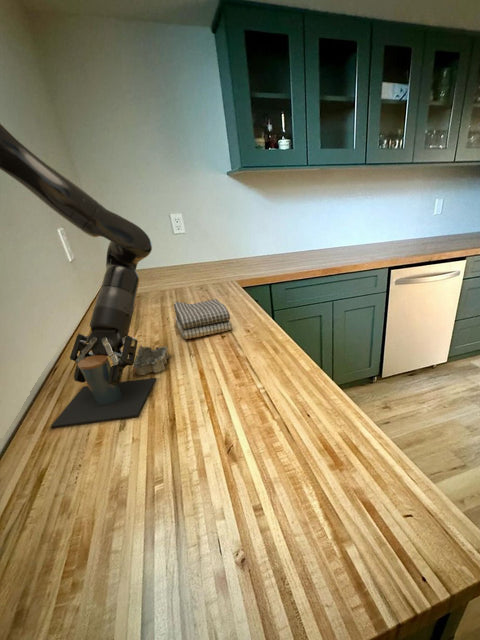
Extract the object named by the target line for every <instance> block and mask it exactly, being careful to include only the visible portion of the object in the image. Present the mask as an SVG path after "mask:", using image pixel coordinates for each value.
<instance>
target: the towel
mask: <svg viewBox="0 0 480 640" xmlns="http://www.w3.org/2000/svg"><path fill="white" fill-rule="evenodd" d="M173 308H174V313H175V317H174V320H175V322H174V323H175V325H176V327H177V328H178V330H179V333H180V334H181V336H182V337H183V339H184V340H188V339H190V340H191V339H195V338H199V337H205V336H208V335H213V334H219V333H223V332H227V331H230V330H232V323H231V321H230V320H231V315H230V313H229V310H228V308H227V307H226V305H224V303H221V302H220V301H219V300H218V299H217V298H215V299H210V300H209V299H208V300H204V301H199V302H194V303H186V302H181V301H174V303H173Z"/></svg>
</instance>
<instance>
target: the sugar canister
mask: <svg viewBox="0 0 480 640" xmlns="http://www.w3.org/2000/svg"><path fill="white" fill-rule="evenodd" d="M111 366H112V365H111V363H110V361H109V357H108V356H106V355H103V354H99V355H93V356H90V357H86V358H85V359H83V360H81V361H80V362H79V363H78V367H79V368H80V370H81V372H82V374H83V376H84V379H85V383H86V386H88V387H89V389H90V391H91V393H92V396H93V398H94V400H95V402H96V403H97V404H98V405H107V404H110V403H113V402H115V401H117V400H118V399H120V398H121V396H122V392H121V390H120V387H119V385H112V384H109V383H108V379H109V374H110V370H111Z"/></svg>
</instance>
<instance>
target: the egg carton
mask: <svg viewBox="0 0 480 640" xmlns="http://www.w3.org/2000/svg"><path fill="white" fill-rule="evenodd" d="M169 357H170V356H169V353H168V345H166V346H163V345H162V346H161V347H159V346H155V349H152V348H151V347H150V346H143V345H140V346H139V347H138V349H137V354H136V355H135V360H134V364H133V367H132V369H135V370H136V374H137V375H140V376H146V375H147V374H149V373H154V374H158V373H160V372H163V371H165V370H166V367H165V365H167V364H168V361H167V360H168V359H169Z"/></svg>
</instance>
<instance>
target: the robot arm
mask: <svg viewBox="0 0 480 640" xmlns="http://www.w3.org/2000/svg"><path fill="white" fill-rule="evenodd" d="M0 170H1V171H2V172H4V173H5V174H7V175H8V176H9V177H11V178H12V179H14V180H15V181H17V182H18V183H19V184H20V185H22V186H23V187H24V188H26V189H27V190H28V191H30V193H32V194H33V195H34V196H35V197H37V198H38V199H39V200H40V201H42V203H44V204H45V205H46V206H48V207H49V209H52V211H54V212H55V213H56V214H57V215H59V216H61V217H62V218H63V219H65V220H66V221H67V222H69V223H70V224H72V225H73V226H75V227H76V228H77V229H79V230H80V231H82V232H83V233H84V234H85V235H88V236H90V237H92V238H99V237H102V238H104V239H106V240H108V241H109V243H108V246H107V250H106V260H105V272H104V276H103V279H102V284H101V286H100V290H99V292H98V294H97V297H96V300H95V304H94V307H93V311H92V315H91V317H90V318H91V319H90V322H89V327H90V330H91V332H90V334H89V335H83V334H81V333H78V334H77V335H76V338H75V339H74V340H75V341H74V344H73V347H72V350H71V352H70V356H69V359H70V360H71V361H73V362H75V363H76V367H75V371H74V374H73V380H74V382H78V383H83V384H84V383H86V381H85V379H84V376H83V374H82V372H81V370H80V368H79V367H78V363H79V362H80V361H81V360H83V359H85V358H87V357H90V356H93V355H99V354H103V355H106V356H107V357H108V358H110V360H111V362H112V364H113V365H110V366H111V370H110V374H109V379H108V383H109V384H112V385H118V383H119V382H121V380H122V375H123V371H124V369H125V368H126V367H128V366H130V367H132V366H134V361H135V359H136V355H137V348H138V342H139V341H138V339H136V338H135V337H133V336H130V335H129V332H130V328H131V324H132V320H133V316H134V312H135V306H136V297H137V294H138V289H139V286H140V285H139V284H140V276H139V274H138V273H137V267H138V264H139V262H141V261H143V260H144V259H145V258H147V257H148V256H149V255H150V254H151V253H152V250H153V244H152V243H153V242H152V241H151V239H150V237H149V235H148V234H147V233H146V231H144V230H143V229H142V228H141V227H140V226H138V225H137V224H136V223H134V222H132V221H130V220H129V219H127V218H124V217H122V216H121V215H119V214H117V213H115V212H114V211H113V212H112V210H109V209H107V208H106V207H104V206H103V205H102V204H101V203H100V202H98V201H97V200H96V199H94V198H93V197H92V196H91V195H90V194H88V193H87V192H86V191H84V190H83V189H82V188H81V187H79V186H78V185H77V184H75V183H74V182H73V181H71V180H70V179H68V178H67V177H65V176H64V175H63V174H61V173H60V172H58V171H57V170H56V169H54V168H53V167H52V166H50V165H49V164H47V163H46V162H45V161H43V160H42V159H40V158H39V157H38V156H37V155H36V154H35V153H34V152H32V151H31V150H29V148H27V146H24V144H22V143H21V142H20V141H19V140H18V139H17V138H16V137H15V136H14V135H12V133H11V132H10V131H8V130H7V129H6V128H5V126H4V125H2V124H1V123H0Z"/></svg>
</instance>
